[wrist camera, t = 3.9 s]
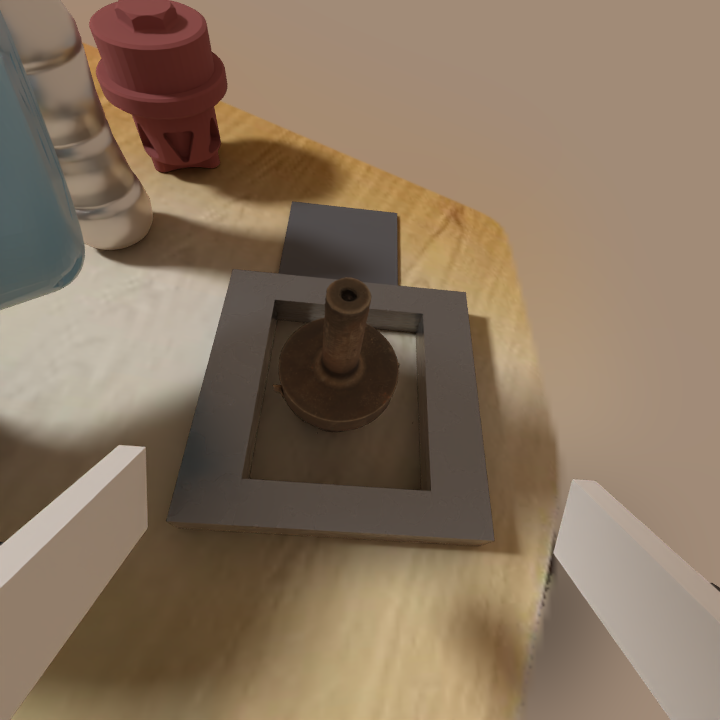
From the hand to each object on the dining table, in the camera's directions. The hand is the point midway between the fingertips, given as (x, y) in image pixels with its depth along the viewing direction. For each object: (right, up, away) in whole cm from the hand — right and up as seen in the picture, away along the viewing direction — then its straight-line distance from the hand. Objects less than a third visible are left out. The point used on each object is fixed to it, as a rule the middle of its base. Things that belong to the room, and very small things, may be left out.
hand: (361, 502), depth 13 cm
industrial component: (-1, +1, +17) cm, 17 cm away
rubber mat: (-2, +14, +24) cm, 28 cm away
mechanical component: (-17, +24, +28) cm, 41 cm away
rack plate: (-1, +1, +17) cm, 17 cm away
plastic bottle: (-21, +15, +23) cm, 34 cm away
